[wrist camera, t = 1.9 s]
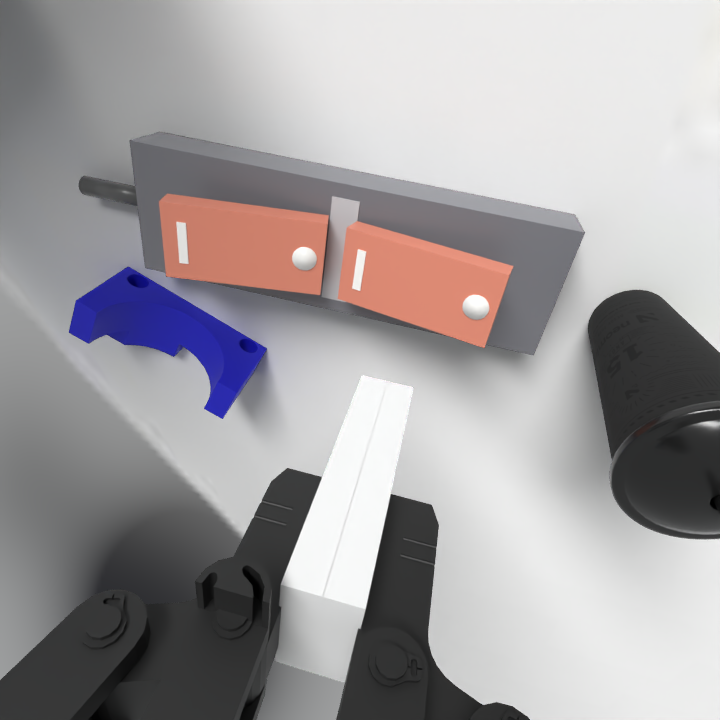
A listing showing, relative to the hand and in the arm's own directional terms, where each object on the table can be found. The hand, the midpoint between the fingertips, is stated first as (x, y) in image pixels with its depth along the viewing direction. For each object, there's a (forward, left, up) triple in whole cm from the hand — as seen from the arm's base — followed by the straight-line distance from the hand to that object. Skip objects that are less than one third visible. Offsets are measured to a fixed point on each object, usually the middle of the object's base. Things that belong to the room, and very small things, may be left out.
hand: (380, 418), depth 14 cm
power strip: (-5, -6, -20) cm, 21 cm away
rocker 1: (-7, -8, -15) cm, 18 cm away
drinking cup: (+13, +5, -20) cm, 24 cm away
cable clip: (-5, -20, -20) cm, 29 cm away
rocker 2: (+2, -1, -15) cm, 15 cm away
